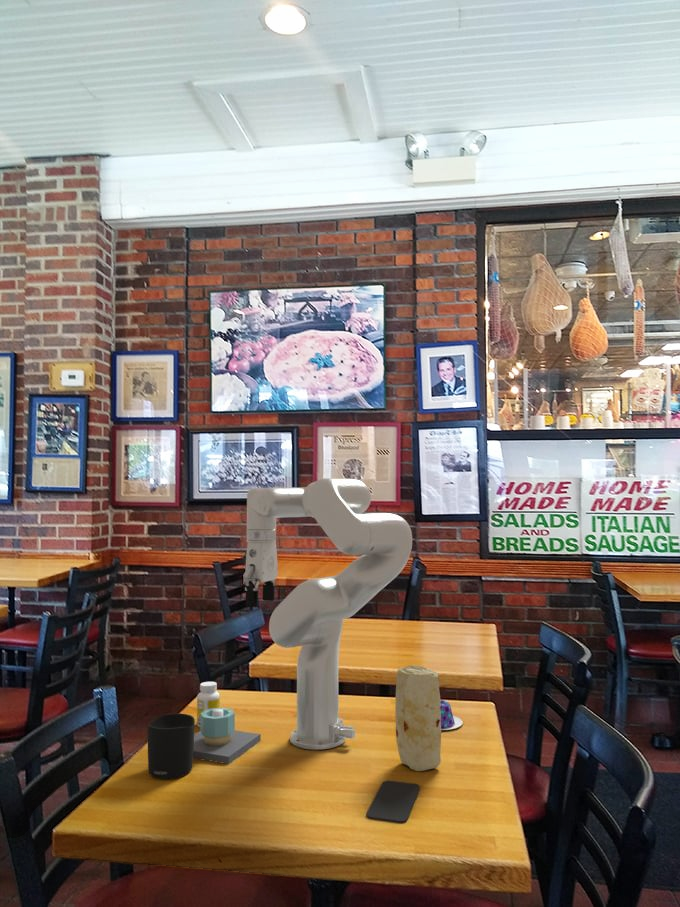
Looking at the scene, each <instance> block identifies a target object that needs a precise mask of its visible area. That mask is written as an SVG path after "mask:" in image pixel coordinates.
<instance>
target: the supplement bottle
mask: <svg viewBox="0 0 680 907" xmlns="http://www.w3.org/2000/svg"><path fill="white" fill-rule="evenodd" d="M217 685H218V684H217V682H215V681H204V682H201V683H200V686H199V691H200V692H198V693H197V697H196V725H197V727H198V728H200V719H201V713H202V712H204V711H205V710H207V709H214V708H221V706H220V705H221V704H220V702H221V701H220V693H219V692H218V691H217V689H218V688H217V687H218V686H217Z"/></svg>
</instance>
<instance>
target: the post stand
mask: <svg viewBox="0 0 680 907" xmlns="http://www.w3.org/2000/svg"><path fill="white" fill-rule="evenodd" d="M219 716H223V710H222V709H215V710H213V711H212V717H219ZM261 737H262V736H261V733H255V732H248V731H243V730H242V731H241V730H236V729H235V731H234V732H233V733H231V734H230V735H228V736H223V737H216V738H214V737H207V736H203V735H202V733H201V732H200V730H199V731H198V732H196V733H194V749H193V759H195V758H196V759H195V760H201V759H204V760H203V761H207V760H212V761H211V762H213V761H217V762H216V763H219V762H223V763H222V764H225V763H227V764H226V765H230V764H231V763H232V762H233V760H234V761H235V760H236V759H238V758H240V757H242V755H243V754H245V753H246V752H248V750H250V749H252V748H253V747H254V746H256V745H257V744H258V743H260V742H261V739H262V738H261ZM229 763H230V764H229Z"/></svg>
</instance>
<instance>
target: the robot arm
mask: <svg viewBox="0 0 680 907" xmlns="http://www.w3.org/2000/svg"><path fill="white" fill-rule="evenodd" d="M371 502H372V494H371V491H370V488H369V487H368V486H367V485H366V484H365V483H364V482H363V481H361V480H358V479H356V478H355V479H354V478H337V477H336V478H335V477H334V478H332V477H331V478H325V477H324V478H319V479H318V480H316V481H313V482H310V484H308V485H307V486H306V487H294V486H293V487H292V486H291V487H287V486H286V487H283V486H282V487H281V486H280V487H279V486H278V487H256V488H255V487H254V488H253V487H252V488H250V489H248V491H247V494H246V543H247V545H246V555H245V556H246V557H245V572H244V573H243V575H242V576H243V583H244V591H245V607H246V608H247V607H248V608H249V607H250V608H258V607H259V590H258V587H259V584H260V582H261V583H263V584H262V601H268V602H273V601H275V599H276V598H275V596H276V594H275V589H276V579H277V577H278V576H279V575H278V574H279V573H278V572H279V571H278V553H277V552H278V550H277V518H278V519H279V518H302V517H303V518H307V517H311V518H314V520H315V521H316V522H317V523H318V525H319V526H320V528H321V529H322V530H323V531H324V533H325V534H326V535H327V537H328V539H329V540H330V541H331V543H332V544H333V545H334V546H335V547H336V549H338V550H339V552H341V553H343V554H344V555H348V556H359V557H357V558H356V559H354V560H353V561H352V562H351V563H350V564H349V565H348V566H347V567H346V568H344V569H343V570H342V571H341V572H340V573H338V574H336V575H331V576H326V577H316V578H311V579H308V580H305V581H303V582H301V583H300V584H298V585H297V586H296V587H295V588H294V589H293V590H292V591H291V592H289V593H288V594H287V596H285V598H284V599H283V600H282V601H281V602H280V603H279V604H278V605H277V606H276V607H275V608H274V610H273V611H272V614H271V616H270V618H269V623H268V631H269V635H270V638H271V639H272V641H273V642H274V643H275V644H276V645H277V646H279V647H281V648H287V649H289V648H296V647H297V648H298V647H300V651H299V653H298V656H297V661H296V729H294V730H293V731H292V732H291V733H290V734H289V735H290V736H289V741H290V743H291V744H292V745H293V746H295V747H297V748H300V749H304V750H305V749H306V750H314V751H315V750H317V751H318V750H328V749H333V748H337V747H338V746H341V745H342V744H344V742H345V741H346V739H352V740H354V739H355V738H356V730H355V728H354V726H351V725H345V724H344V723H343V718H342V717H339V657H340V656H339V655H340V652H339V651H340V644H341V643H340V641H341V637H342V633H343V632H342V631H343V626H344V625H343V624H344V620H346V619H349V618H351V617H353V616H354V615H355V614H356V613H358V612H359V610H361V609H362V608H363V607H364V606H366V604H367V603H369V602H370V601H371V600H372V599H374V597H375V596H377V594H378V593H379V592H380V591H381V590H383V589H384V588H385V587H387V585H388V584H389V585H390V583H392V581H394V580H395V579H396V578H397V577H398V576H399V575H400V573H402V571H403V569H404V568H405V567H406V565H407V563H408V561H409V559H410V557H411V556H410V555H411V553H412V548H413V533H412V529H411V527H410V525H409V523H408V522H407V520H405V519H404V518H403V517H402V516H400V515H397V514H394V513H391V512H390V513H387V512H369V513H368V512H367V513H366V511H367V509H368V508H369V506H370V505H371ZM364 512H365V513H364Z"/></svg>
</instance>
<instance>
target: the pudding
mask: <svg viewBox="0 0 680 907" xmlns="http://www.w3.org/2000/svg"><path fill="white" fill-rule="evenodd" d="M440 702H441V731H448V730H453V729H457V728H460V727H461V726H462V725H463V720H462V719H461V718H460V717H458V716H455V715H453V711H452V710H453V709H452V706H451V703H449V702H448V701H447V700H444V699H440Z"/></svg>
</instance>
